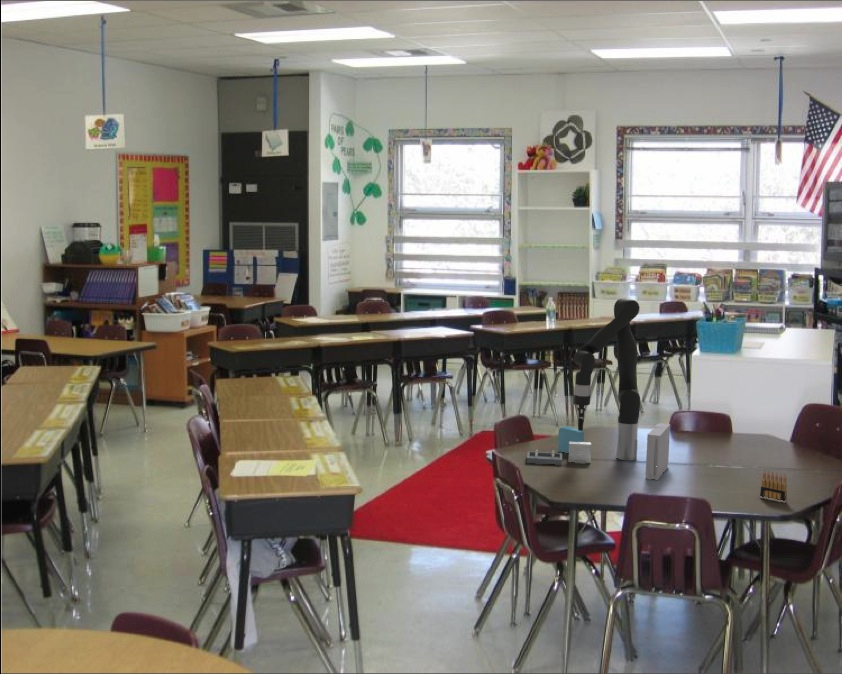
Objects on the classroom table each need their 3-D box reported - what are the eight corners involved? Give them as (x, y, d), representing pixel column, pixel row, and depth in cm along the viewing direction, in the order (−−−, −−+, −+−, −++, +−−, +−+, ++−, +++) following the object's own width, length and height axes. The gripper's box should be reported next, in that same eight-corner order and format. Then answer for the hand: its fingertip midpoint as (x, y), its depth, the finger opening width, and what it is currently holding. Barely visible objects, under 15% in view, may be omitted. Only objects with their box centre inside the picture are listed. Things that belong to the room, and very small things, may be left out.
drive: (590, 461, 520) (590, 442, 519) (590, 463, 515) (591, 444, 514) (568, 460, 521) (569, 441, 520) (568, 462, 517) (569, 443, 515)
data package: (583, 454, 533) (584, 430, 531) (577, 456, 529) (578, 431, 528) (563, 450, 541) (564, 425, 540) (557, 451, 538) (558, 427, 537)
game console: (644, 479, 490) (646, 434, 487) (655, 465, 515) (657, 423, 512) (657, 480, 488) (659, 435, 485) (668, 466, 513) (670, 424, 510)
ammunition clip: (759, 498, 462) (761, 470, 461) (761, 497, 464) (763, 469, 462) (784, 503, 455) (786, 474, 454) (786, 502, 457) (788, 474, 455)
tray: (561, 458, 524) (562, 450, 523) (561, 465, 511) (562, 456, 510) (527, 457, 525) (527, 448, 525) (526, 463, 513) (526, 454, 512)
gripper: (590, 397, 507) (588, 432, 509) (590, 391, 521) (588, 426, 523) (574, 396, 508) (572, 431, 510) (574, 390, 522) (572, 425, 524)
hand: (580, 428), depth 516 cm, fingers open, 8 cm apart
